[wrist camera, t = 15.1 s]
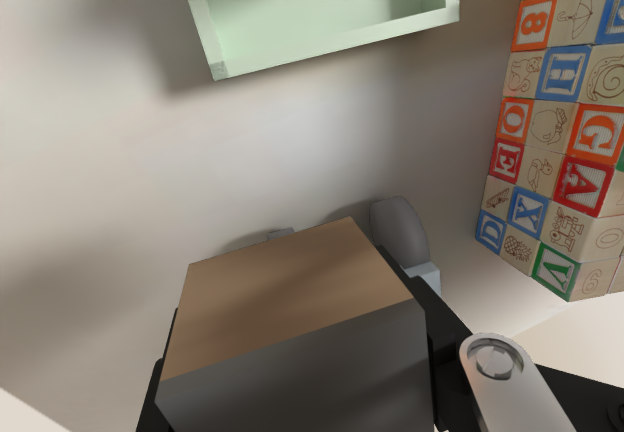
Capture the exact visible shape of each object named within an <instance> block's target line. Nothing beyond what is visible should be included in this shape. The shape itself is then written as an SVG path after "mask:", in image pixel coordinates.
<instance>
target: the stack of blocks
mask: <svg viewBox="0 0 624 432" xmlns="http://www.w3.org/2000/svg"><path fill="white" fill-rule="evenodd" d="M502 96H503V100H502V103H501V110H500V115H499V120H498V125H497V131H496V139H495V144H494V148H493V153H492V159H491V163H490V169H489V175H488V176H487V180H486V185H485V190H484V195H483V200H482V206H481V211H480V216H479V221H478V227H477V232H476V240H477V241H479V242H480V243H482V244H483V245H484V246H486V247H487V248H489V249H490V250H491V251H493V252H494V253H495V254H497V255H499V256H500V257H501V258H502V259H504V260H505V261H506V262H508V263H509V264H511V265H512V266H513V267H515V268H516V269H518V270H519V271H521V272H522V273H524V274H525V275H527V276H529V277H532V278H533V279H534V280H536V281H537V282H538V283H540V284H541V285H543V286H544V287H546V288H547V289H549V290H550V291H552V292H553V293H555V294H556V295H558V296H559V297H561V298H562V299H564V300H565V301H567V302H573V301H578V300H583V299H588V298H593V297H600V296H604V295H605V294H611V293H616V292H622V291H624V0H522V1H521V3H520V7H519V12H518V17H517V22H516V27H515V32H514V37H513V42H512V47H511V54H510V57H509V62H508V66H507V71H506V76H505V81H504V87H503V92H502Z"/></svg>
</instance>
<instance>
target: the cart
mask: <svg viewBox="0 0 624 432" xmlns="http://www.w3.org/2000/svg"><path fill="white" fill-rule="evenodd" d="M369 219H370V226H371V231H372V236H373V239H374V243H375V246H377V245H380V244H381V245H383V246H384V248H385V249H386V250H387V251H388V252H389V253H390V255H391V256H392V257H393V258H394V259H395V261H396V262H397V263H398V264H399V265H400V267H401V268H402V269H403V270H404V271H405V273H406V274H407V275H408V276H409V277H410V278H411V277H414V276H417V275H418V276H421V277H422V278H423V279H424V280H425V281H426V282H427V283H428V285H429V286H430V287H431V288H432V289H433V290H434V291H435V292H436V293H437V295H438V296H439V297H440V298H441V284H440V269H439V268H437V267H436V266H435V265H434V264H433V263H432V262H431V261H430V256H429V248H428V243H427V239H426V235H425V232H424V229H423V227H422V224H421V222H420V220H419V218H418V216H417V214H416V212H415V211H414V209H413V208H412V206H411V205H410V204H409V202H408V201H407V200H406V199H404V198H403V197H401V196H395V197H391V198H388V199H385V200H381V201H378V202H374V203H372V204H371V206H370V210H369ZM292 233H294V230H293V227H290V228H286V229H283V230H279V231H276V232H273V233H269V234H268V241H269V240H272V239H276V238H279V237H282V236H286V235H289V234H292Z"/></svg>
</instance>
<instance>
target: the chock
mask: <svg viewBox="0 0 624 432" xmlns="http://www.w3.org/2000/svg"><path fill="white" fill-rule="evenodd" d="M154 402H155V404H156V405H157V406H158V408H159V409H160V411H161V412H162V414H163V415H164V417H165V418H166V419H167V421H168V422H169V424H170V425H171V427H172V428H173V430H174V431H175V432H434V420H433V407H432V395H431V383H430V371H429V358H428V346H427V334H426V321H425V311H424V310H423V308H422V307H421V306H420V304H419V303H418V302H417V301H416V299H415V298H414V297H413V295H412V294H411V293H410V292H409V290H408V289H407V288H406V287H405V285H404V284H403V283H402V281H401V280H400V279H399V278H398V276H397V275H396V274H395V273H394V271H393V270H392V269H391V267H390V266H389V265H388V264H387V262H386V261H385V260H384V258H383V257H382V256H381V255H380V253H379V252H378V251H377V250H376V248H375V247H374V246H373V244H372V243H371V242H370V241H369V239H368V238H367V237H366V236H365V234H364V233H363V232H362V230H361V229H360V228H359V227H358V225H357V224H356V223H355V221H354V220H353V219H352V218H351V216H349V217H346V218H342V219H339V220H336V221H332V222H329V223H326V224H322V225H319V226H316V227H312V228H309V229H306V230H302V231H299V232H296V233H292V234H289V235H286V236H282V237H279V238H276V239H272V240H269V241H266V242H262V243H259V244H255V245H252V246H249V247H245V248H242V249H239V250H235V251H232V252H229V253H225V254H222V255H219V256H215V257H212V258H209V259H205V260H202V261H199V262H195V263H192V264H189V267H188V271H187V275H186V279H185V283H184V287H183V291H182V295H181V299H180V302H179V306H178V310H177V314H176V318H175V322H174V326H173V330H172V334H171V338H170V342H169V346H168V350H167V354H166V358H165V362H164V366H163V370H162V374H161V378H160V382H159V386H158V390H157V393H156V397H155V401H154Z"/></svg>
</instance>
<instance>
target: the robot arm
mask: <svg viewBox="0 0 624 432" xmlns="http://www.w3.org/2000/svg"><path fill="white" fill-rule="evenodd" d="M374 247H375V248H376V250H377V251H378V252H379V253H380V255H381V256H382V257H383V258H384V260H385V261H386V262H387V264H388V265H389V266H390V267H391V269H392V270H393V271H394V273H395V274H396V275H397V276H398V278H399V279H400V280H401V281H402V283H403V284H404V285H405V287H406V288H407V289H408V290H409V292H410V293H411V294H412V295H413V297H414V298H415V299H416V301H417V302H418V303H419V304H420V306H421V307H422V308H423V310H424V311H425V321H426V334H427V346H428V358H429V371H430V383H431V395H432V407H433V420H434V424H435V426H436V428H437V430H438V431H439V432H444V431H446V430H448V431H449V432H624V388H620V387H616V386H613V385H609V384H606V383H602V382H598V381H595V380H591V379H587V378H584V377H581V376H577V375H574V374H570V373H566V372H563V371H559V370H556V369H552V368H549V367H545V366H542V365H538V364H535V363H533V361H532V360H531V358H530V356H529V355H528V354H527V352H526V351H525V350H524V349H523V348H522V347H521V346H520V345H519V344H517V343H516V342H514V341H513V340H511V339H509V338H507V337H504V336H502V335H498V334H493V333H479V334H475V335H474V334H473V333H472V332H471V331H470V330H469V329H468V328H467V327H466V326H465V324H464V323H463V322H462V321H461V320H460V319H459V318H458V317H457V316H456V314H455V313H454V312H453V311H452V310H451V309H450V308H449V307H448V306H447V305H446V303H445V302H444V301H443V300H442V299H441V298H440V297H439V296H438V295H437V293H436V292H435V291H434V290H433V289H432V288H431V287H430V286H429V285H428V283H427V282H426V281H425V280H424V279H423V278H422V277H421V276H418V275H417V276H414V277H411V278H410V277H409V276H408V275H407V274H406V273H405V271H404V270H403V269H402V268H401V267H400V265H399V264H398V263H397V262H396V261H395V259H394V258H393V257H392V256H391V255H390V253H389V252H388V251H387V250H386V249H385V248H384V246H383V245H381V244H380V245H377V246H374ZM177 310H178V308H176V310H175V313H174V317H173V321H172V324H171V328H170V332H169V336H168V339H167V343H166V347H165V351H164V354H163V358H161V359H159V360H158V361H157V362H156V364H155V366H154V369H153V372H152V376H151V379H150V383H149V386H148V390H147V393H146V397H145V400H144V404H143V407H142V411H141V414H140V418H139V421H138V425H137V428H136V432H175V431H174V430H173V428H172V427H171V425H170V424H169V422H168V421H167V419H166V418H165V417H164V415H163V414H162V412H161V411H160V409H159V408H158V406H157V405H156V404H155V402H154V401H155V397H156V393H157V390H158V386H159V382H160V378H161V374H162V370H163V366H164V362H165V358H166V354H167V350H168V346H169V342H170V338H171V334H172V330H173V326H174V322H175V318H176V314H177Z"/></svg>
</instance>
